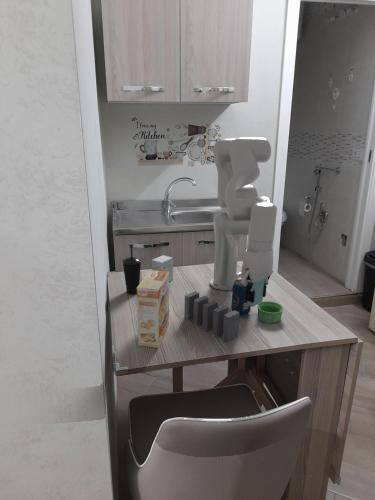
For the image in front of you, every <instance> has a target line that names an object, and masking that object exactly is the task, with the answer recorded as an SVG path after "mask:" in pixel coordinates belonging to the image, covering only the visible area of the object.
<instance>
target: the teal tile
mask: <svg viewBox="0 0 375 500" xmlns="http://www.w3.org/2000/svg"><path fill="white" fill-rule="evenodd" d="M250 280H251V279H250ZM264 281H265V280H264V279H262V280H260V281H257V282H256V284H255V288H254V291H255V299H254V302H253V303H251V302H249V301H248V303H247V305H249V306H251V308H253V307H255V306H257V305H258V304H260V303H262V302H263V300H264V299H263V298H264V297H263V289H264ZM249 284H250V286H251V285H252V283H251V282H250V283H249Z"/></svg>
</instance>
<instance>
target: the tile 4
mask: <svg viewBox="0 0 375 500" xmlns="http://www.w3.org/2000/svg"><path fill="white" fill-rule="evenodd" d="M218 307H219V302H218V301H216V300H215V299H213V300H212V301H208V303H206V304H204V305H203V323H202V330H204V331H205V332H208V331H210V330H213V310H214V309H216V308H218Z"/></svg>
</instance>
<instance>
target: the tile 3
mask: <svg viewBox="0 0 375 500" xmlns="http://www.w3.org/2000/svg"><path fill="white" fill-rule="evenodd" d="M206 303H209V297H208V296H206V295H202V296H201V297H200V296H199V298H197V299H195V300H194V312H193V319H192V320H193V325H195V326H200V325H203V305H204V304H206Z"/></svg>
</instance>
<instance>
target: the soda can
mask: <svg viewBox="0 0 375 500" xmlns="http://www.w3.org/2000/svg"><path fill="white" fill-rule="evenodd" d="M241 280H242V278H241V279H239V278H238V279H237V280H236V281H235V283H234V285H233V288H232V290H231V305H230V306H231V307H230V309H231V312H232V311H234V310H235V311H238V312H239V317H247V316H248V315H249V314H250V313H251V309H252V307H251V306H249V305H247V303H248V301H247V300H245V293H246V289H245V287H244V286H243V285H241V284H240V282H241Z"/></svg>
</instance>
